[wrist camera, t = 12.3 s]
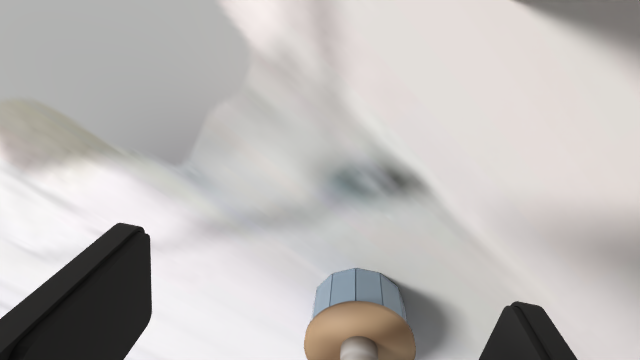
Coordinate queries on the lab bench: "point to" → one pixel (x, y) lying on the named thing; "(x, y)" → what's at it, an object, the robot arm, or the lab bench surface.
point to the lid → (359, 333)
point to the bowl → (358, 291)
